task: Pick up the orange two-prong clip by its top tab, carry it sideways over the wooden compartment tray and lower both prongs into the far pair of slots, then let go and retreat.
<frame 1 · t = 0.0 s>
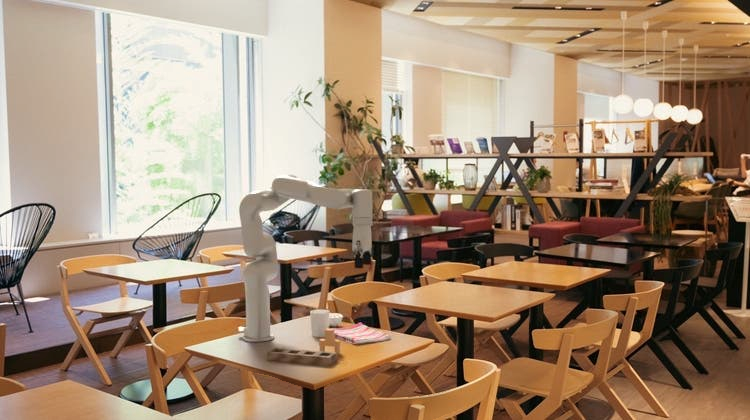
hand: (363, 266, 277), 31 cm above the table, tool pointing down, fingers open, 9 cm apart
clip: (329, 353, 269), on the table
white cup: (320, 335, 297), on the table
dish towel: (358, 338, 294), on the table
white bowl: (329, 327, 313), on the table
wooden compartment tray: (302, 360, 260), on the table
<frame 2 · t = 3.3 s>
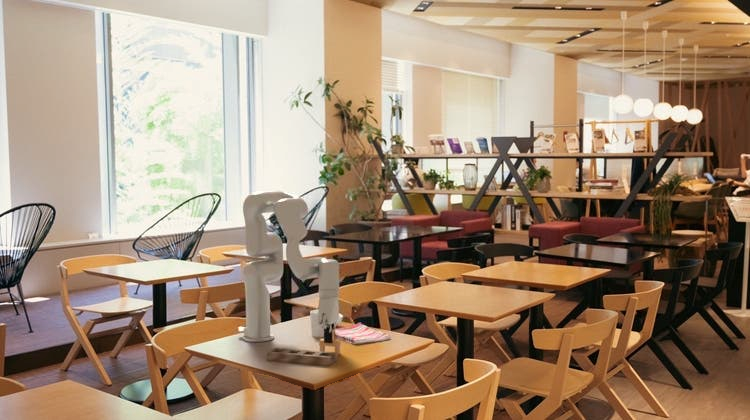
hand: (329, 341, 269), 4 cm above the table, tool pointing down, fingers closed on clip, 2 cm apart
clip: (329, 353, 269), on the table, touching gripper
everything else where it was.
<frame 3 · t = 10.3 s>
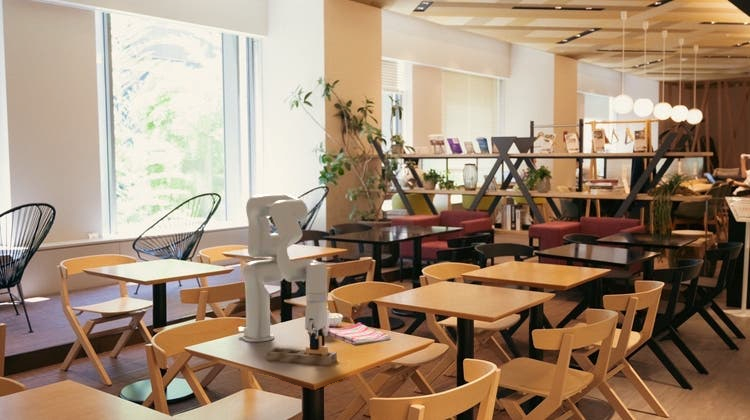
hand: (317, 347, 257), 5 cm above the table, tool pointing down, fingers open, 4 cm apart
clip: (317, 361, 258), resting on wooden compartment tray
white cup: (320, 335, 297), on the table, touching dish towel
dish towel: (357, 338, 295), on the table, touching white cup
everything else where it was.
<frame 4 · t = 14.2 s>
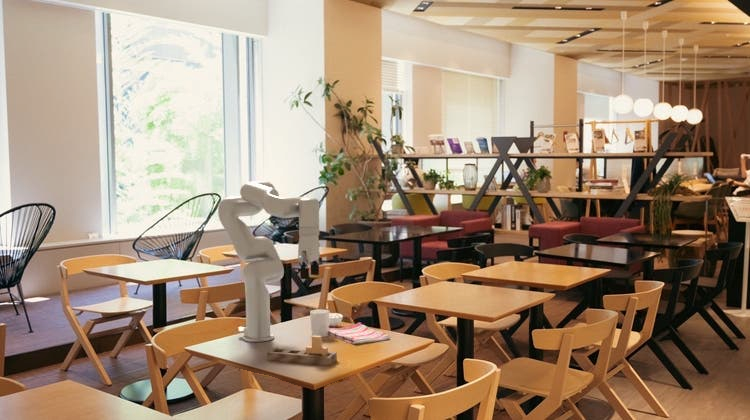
hand: (309, 276, 271), 28 cm above the table, tool pointing down, fingers open, 9 cm apart
white cup: (320, 335, 297), on the table
dish towel: (357, 338, 295), on the table
everything else where it was.
at the end: clip 0.2 cm from the target spot on the wooden compartment tray, point 0.3 cm above the wooden compartment tray's base; clip tilted 0°; the gripper is holding nothing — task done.
